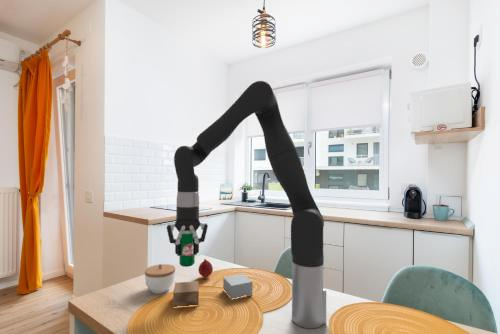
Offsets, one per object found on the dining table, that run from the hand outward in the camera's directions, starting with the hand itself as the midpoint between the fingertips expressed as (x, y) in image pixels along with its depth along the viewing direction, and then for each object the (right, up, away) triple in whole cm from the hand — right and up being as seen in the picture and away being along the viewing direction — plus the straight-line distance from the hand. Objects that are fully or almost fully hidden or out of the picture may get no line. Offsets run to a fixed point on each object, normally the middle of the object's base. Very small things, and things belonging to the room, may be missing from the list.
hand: (187, 254), depth 90 cm
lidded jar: (-12, -16, +8) cm, 22 cm away
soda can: (0, -4, 0) cm, 4 cm away
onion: (+3, -17, +20) cm, 26 cm away
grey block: (+17, -16, +6) cm, 24 cm away
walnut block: (0, -16, 0) cm, 16 cm away
